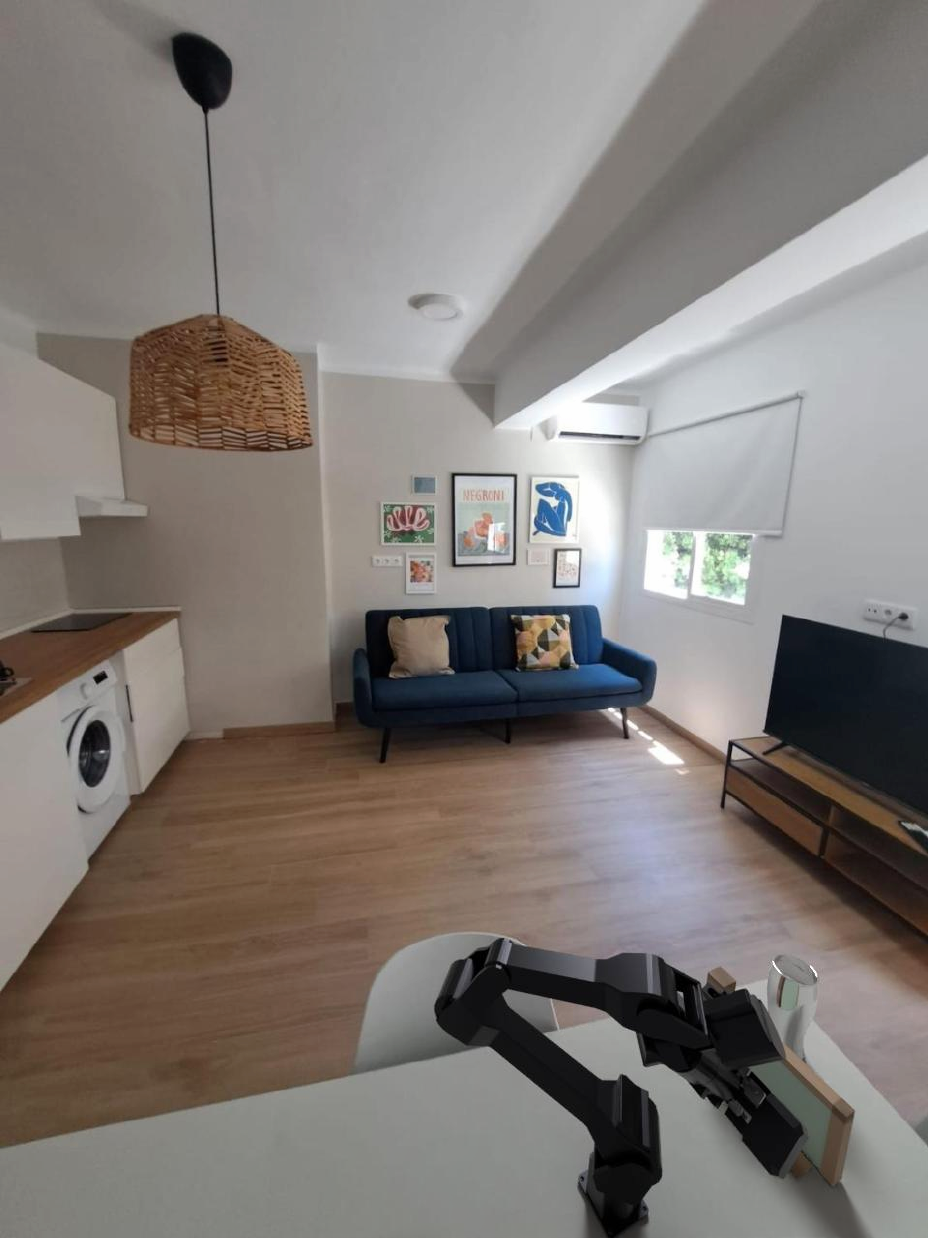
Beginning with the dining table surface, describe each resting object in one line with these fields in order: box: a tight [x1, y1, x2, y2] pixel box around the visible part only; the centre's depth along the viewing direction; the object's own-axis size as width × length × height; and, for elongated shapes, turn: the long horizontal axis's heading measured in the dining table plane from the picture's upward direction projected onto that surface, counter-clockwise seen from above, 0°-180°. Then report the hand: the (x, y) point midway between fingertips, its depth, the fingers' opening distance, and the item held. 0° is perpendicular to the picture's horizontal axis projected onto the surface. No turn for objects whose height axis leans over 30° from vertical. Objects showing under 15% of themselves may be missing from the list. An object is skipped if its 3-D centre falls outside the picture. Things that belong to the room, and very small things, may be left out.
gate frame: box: [705, 966, 813, 1181], centre depth 74 cm, size 6×18×14 cm, turn 24°
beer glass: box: [766, 952, 820, 1061], centre depth 82 cm, size 7×7×15 cm
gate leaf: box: [747, 1042, 856, 1187], centre depth 72 cm, size 16×2×11 cm, turn 24°
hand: (743, 1090), depth 65 cm, fingers open, 3 cm apart
